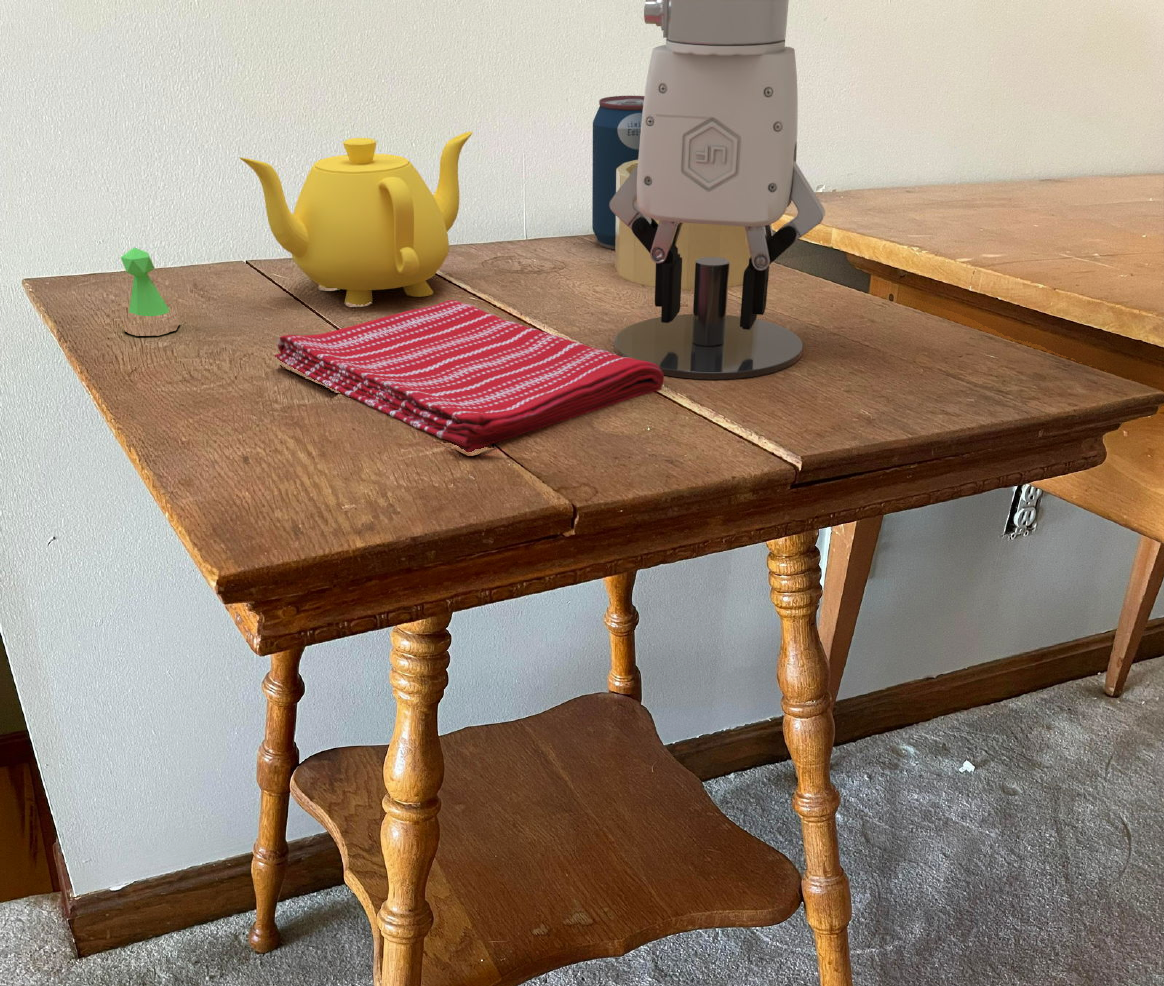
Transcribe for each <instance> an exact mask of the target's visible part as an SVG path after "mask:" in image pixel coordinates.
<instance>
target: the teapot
mask: <svg viewBox="0 0 1164 986" xmlns="http://www.w3.org/2000/svg"><path fill="white" fill-rule="evenodd" d="M472 134H473V131H466V132H463V133H461V134H459V135H456V136H454V137H452V138H451V139H449V140H448V141H447V142H446V144H445V145H444V147H443V149H442V151H441V155H440V162H439V175H438V183H437V186H436V189H435V191H434V192H433V193H432V191H431V190H430V188H429V187H428V185H427V184H426V182H425V180H424V179H423V178H422V176H421V174H420V172H419V171H418V170H417V168H416V167H415V166H414V164H413V163H412V161H410V160H409V159H407V158H406V157H404V156H399V155H395V154H388V153H376V148H377V140H375V139H373V138H371V137H353V138H348V139H344V141H342V145H343V147H344V150H345V152H346V154H342V155H334V156H329V157H325V158H322V159H318V160H317V161H315V162H314V164H313V165H312V166H311V168H310V170H309V173H308V174H307V176H306V178H305V181H304V183H303V185H302V187H301V190H300V193H299V195H298V198H297V201H296V204H295V207H294V210H293V213H292V212H291V210H290V208H289V206H288V203H287V200H286V196H285V194H284V189H283V186H282V182H281V179H280V177H279V174H278V173H277V171H276V170H275V168H274V167H273V166H272V165H271V164H270V163H268V162H266V161H261V160H256V159H251V158H246V157H240V156H239V157H238V159H239V160H241V161H242V162H243V163H245V164H246V165H248V167H249V168H251V169H252V170H253V172H254V173H255V174H256V176H257V177H258V179H259V183H260V184H261V187H262V192H263V196H264V197H263V198H264V204H265V210H266V217H267V222H268V225H269V228H270V231H271V233H272V235H273V237H274V238H275V240H276V242H277V243H278V244H279V245H280V246H281V248H283V249H284V250H285V251H287V252H288V253H290V254H291V258H292V259H293V261H294V262H295V264H296V265H297V267H299V269H300V270H301V271H302V272H303V273H304V274H305V275H306V276H307V277H308V278H309V279H310V280H311V281H312V282H314V283H316V284H317V285H318V287H319V286H322V287H325V288H337V289H342V290H346V294H345V299H344V302H345V301H346V302H349V303H352V304H356V305H358V304H359V305H361V304H363V305H365V304H367V303H369V302H372V301H373V291H378V290H380V291H381V290H389V289H397V288H403V290H404V292H405V294H406V295H407V296H409V295H410V296H409V297H415V298H416V297H418V298H421V297H422V298H423V297H426V296H427V297H428V296H432V295H433V294H434V291H433V290H432V288H431V286H430V285H429V284H428V282H427V281H428V280H429V279H431V278H433V277H434V276H435V275H436V274H437V272H439V270H440V268H441V267H442V265H443V264H444V262H445V261H446V259H447V257H448V256H449V252H450V242H449V235H448V232H449V231H450V230H451V228H452V227H453V226H454V223H455V222H456V220H457V217H458V213H459V208H460V184H459V159H460V155H461V153H462V149H463V147H464V145H465V144H466V143H467V142H468V140H469V138H470V137H471V136H472Z"/></svg>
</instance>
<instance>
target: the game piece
mask: <svg viewBox="0 0 1164 986" xmlns="http://www.w3.org/2000/svg"><path fill="white" fill-rule="evenodd" d="M120 260H121V261H122V265H123V267H124V269H125V272H126V274H128V275H132V276H133V280H132V281H133V282H132V287H131V288H132V289H131V294H130V301H129V302H130V303H129V309H128V313H129V312H130V313H134V314H135V315H141V316H157V315H162V314H163V315H164V314H166V313H168V311H169V310H170V308H169V307H168V305H167V303H166V302H165V300H164V299H163V297H162V296H161V294H160V292H159V291H158V289H157V287H156V286H155V284H154V282H153V281H152V280H151V278H150V276H149V273H151V272H152V271H153V270H154V269H155V266H154V263H153V261H152V258H151V256H150V254H149V252H148V251H145V250H143V249H140V248H137V247H133V248H131V249H130V250H128V251H127V252H126V253H124V254H123V255H121V256H120Z"/></svg>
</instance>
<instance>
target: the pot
mask: <svg viewBox="0 0 1164 986" xmlns="http://www.w3.org/2000/svg"><path fill="white" fill-rule="evenodd" d="M637 165H638V160H634V161H630V162H626V163H623V164H622V165H621V166H619V167H618V168H617V169H616V192H617V191H618V190H619V189H620V187H621V186H622V185H623V183H624V182H625V181H626V179H627V178H628V177H629V175H630V174H631V173H632V171H633V170H634V169H635V167H636V166H637ZM654 220H655V219H654ZM655 221H656V222H657V224H658V225H659V222H660V220H655ZM676 247H677V248H678V254H680V257H682V278H681V291H694V279H695V261H696V260H697V259H699V258H704V257H720V258H725V259H727V260H729V261H730V268H729V283H728V288H730V287H737V286H743V275H744V271H745V269H746V268H747V266H748V265H749V259H750V257H751V254H750V249H749V244H748V239H747V234H746V229H745V226H730V225H713V224H697V223H683V225H682V228H681V231H680V235H679V238H678V241H677V244H676ZM614 251H615V254H614V258H615V259H614V269H615V271H616V273H617V275H618V276H619V277H620V278H622V279H624V280H627V281H628V282H631V283H634V284H639V285H642V286H648V287H652V288H655V274H656V263H655V262H653V260H652V259H651V257H650V253H649V252H648V250H647V249H646V248H645V247H644V246H643V244H642V243H641V242H640V241H639V240H638V238H637V237H636V236H635V235H634V233H633V232H632V229H631V228H630V227H628V226H626V225H625V224H624V223H623V222H622V221H621V220H620V219H619V218H618V217H617V216H616V242H615V249H614Z"/></svg>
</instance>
